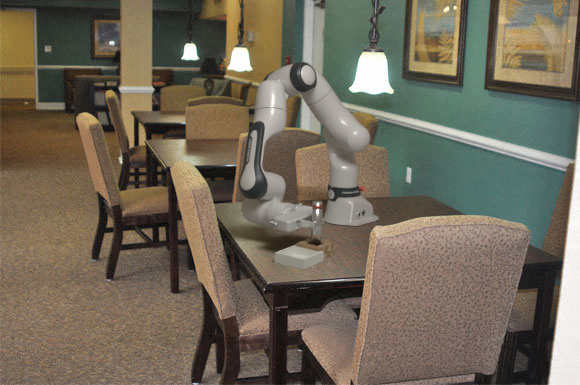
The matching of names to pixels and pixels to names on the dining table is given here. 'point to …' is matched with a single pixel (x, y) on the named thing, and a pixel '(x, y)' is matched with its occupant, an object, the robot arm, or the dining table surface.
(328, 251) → the wooden square frame
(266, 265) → the dining table surface
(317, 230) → the cylinder
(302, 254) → the tray
